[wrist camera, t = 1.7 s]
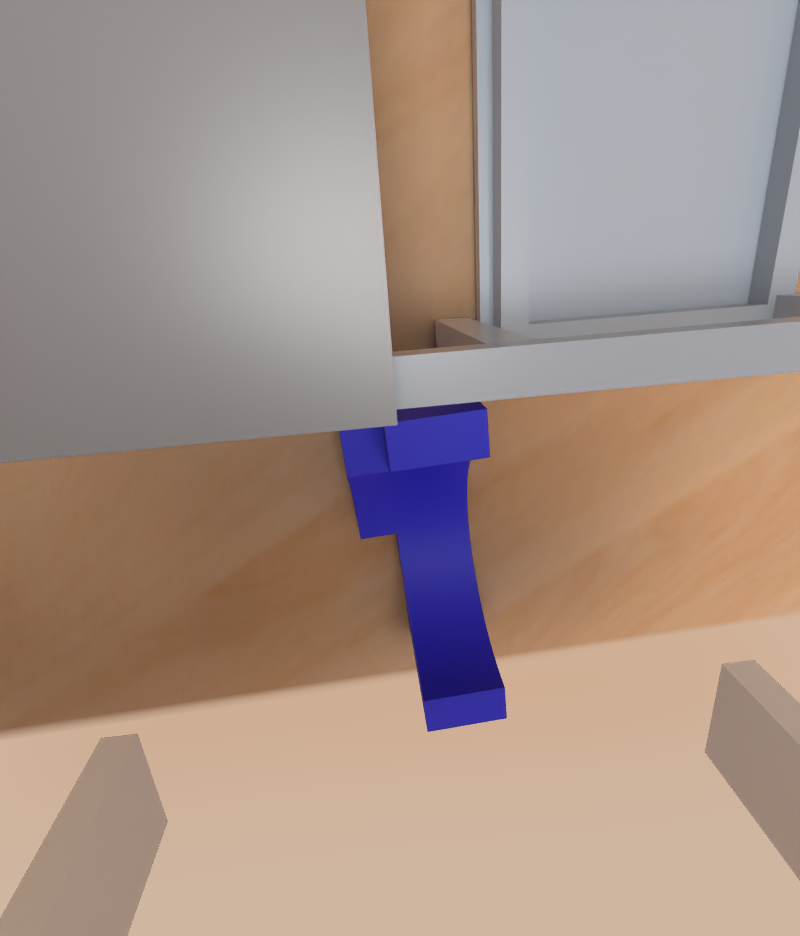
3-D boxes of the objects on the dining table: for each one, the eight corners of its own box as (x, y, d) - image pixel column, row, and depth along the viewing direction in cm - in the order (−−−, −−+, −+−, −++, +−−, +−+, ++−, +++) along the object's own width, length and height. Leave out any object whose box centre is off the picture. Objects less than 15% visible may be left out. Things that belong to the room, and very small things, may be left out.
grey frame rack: (108, 380, 19) (-65, 452, 11) (-65, -235, 13) (-691, -1010, 5) (767, 322, 20) (1028, 350, 13) (872, -244, 15) (1475, -848, 7)
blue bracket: (337, 388, 20) (332, 431, 14) (448, 372, 20) (486, 408, 14) (379, 632, 24) (387, 738, 19) (470, 617, 24) (506, 718, 19)
